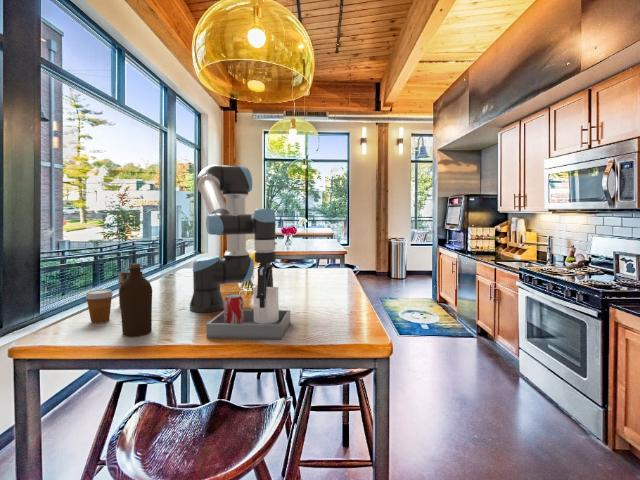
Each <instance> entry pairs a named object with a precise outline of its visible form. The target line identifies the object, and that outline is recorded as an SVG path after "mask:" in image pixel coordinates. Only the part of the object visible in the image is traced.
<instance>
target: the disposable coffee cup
mask: <svg viewBox="0 0 640 480" xmlns="http://www.w3.org/2000/svg"><path fill="white" fill-rule="evenodd" d="M112 291H113V290H111V289H107V288H105V289H103V288H102V289H95V290H89V291H87V292H86V293H85V295H84V296H85V299H86V302H87V307H88V313H89V318H90V323H91V322H92V323H91V324H102V323H101V322H104V323H107V322H109V321H110V320H111V318H110V317H111V307H112V297H113V295H114V293H113V292H112ZM108 320H109V321H108ZM106 321H107V322H106Z"/></svg>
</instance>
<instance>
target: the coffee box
mask: <svg viewBox="0 0 640 480" xmlns="http://www.w3.org/2000/svg"><path fill="white" fill-rule="evenodd" d="M140 273H141V275H142V276H143V271H141V270H140ZM129 275H130V270H124V271H119V272H117V278H118V280H117V282H118V290H119V289H120V286H121V284H122V283H123V282H124V281H125V280H126V279H127V278H128V277H129ZM143 277H144V276H143ZM118 299H119V302H118V303H119V305H120V298H119V297H118Z"/></svg>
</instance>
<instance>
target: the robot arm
mask: <svg viewBox="0 0 640 480" xmlns="http://www.w3.org/2000/svg"><path fill="white" fill-rule="evenodd" d="M251 173H252V172H251V171H250V169H249V168H248V167H247V166H241V165H226V164H225V165H224V164H211V165H208V166H206V167H204V168H203V169H201V171H200V172H199V173H198V175H197V177H196V180H195V181H196V188H197V190H198V192H199V193H200V194H201V195H202V198H203V200H204V204H205V206H206V210H207V212H208V214H207V216H206V223H205V225H206V226H205V227H206V232H207V234H209V235H212V236H213V235H215V236H223V235H224V236H225V235H226V252H224V253H223V258H221V257H220V256H219V255H209V256H203V257H198V258H197V259H195V260H193V264H192V277H193V278H192V280H193V285H192V287H193V292H192V293H193V294H192V296H191V300H190V302H189V310H190V311H191V312H194V313H210V312H211V313H212V312H217V311H221V310H224V300H225V298H224V297H223V294H222V291H221V285H225V284H226V285H228V284H242V283H247V282H250V281H251V279H252V277H253V275H254V272H255V271H254V269H255V268H254V267H255V263H257V264H260V265H259V266H260V267H258V269H257V286H256V287H257V296H256V298H259V317H267V298H266V290H267V287H274V277H273V264H271V263H275V262H276V261H277V259H276V257H277V255H276V245H278V242H277V241H276V220H277V219H276V210H275V209H274V208H255V209H254V210H253V211H254V212H253V213H252V214H251V213H250V214H249V213H248V214H246V199H247V198H248V197H249V193H250V192H252V190H253V177H252V174H251ZM247 235H254V243H253V244H254V251H255V252H254V258H253V257H251V256H250V253H249V252H248V250H247Z"/></svg>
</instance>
